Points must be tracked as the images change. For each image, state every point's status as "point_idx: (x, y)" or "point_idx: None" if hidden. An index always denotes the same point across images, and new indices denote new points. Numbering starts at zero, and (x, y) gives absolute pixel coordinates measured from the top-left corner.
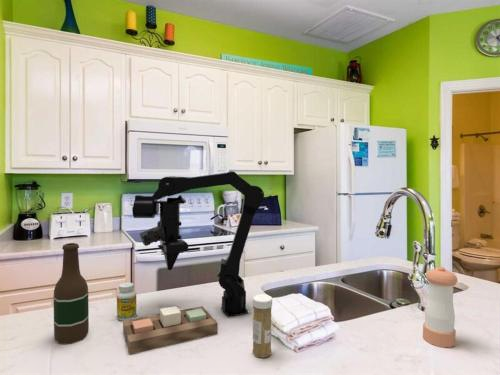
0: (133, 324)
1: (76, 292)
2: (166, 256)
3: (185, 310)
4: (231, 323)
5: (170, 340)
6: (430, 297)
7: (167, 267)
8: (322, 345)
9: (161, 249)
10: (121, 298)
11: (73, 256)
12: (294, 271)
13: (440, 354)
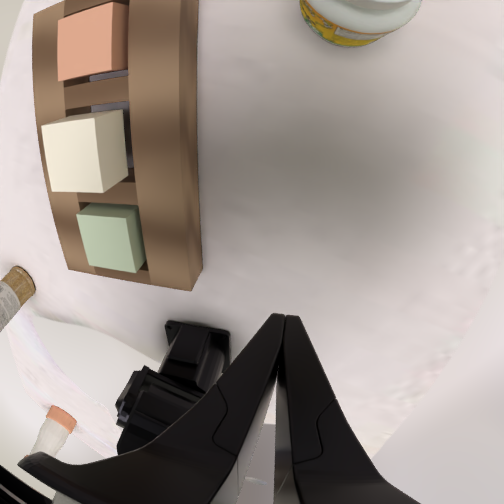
0: (87, 10)
1: None
2: (174, 423)
3: (173, 226)
4: (131, 305)
5: None
6: (43, 447)
7: (284, 326)
8: (47, 351)
9: (69, 497)
10: None
11: None
12: None
13: (41, 395)
